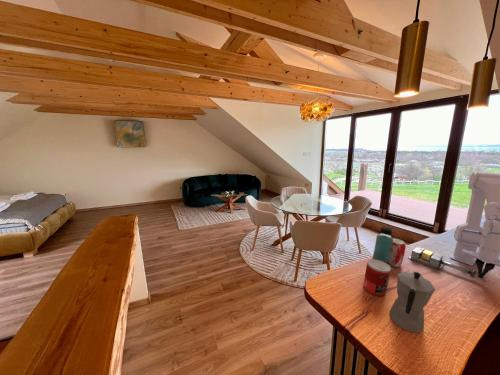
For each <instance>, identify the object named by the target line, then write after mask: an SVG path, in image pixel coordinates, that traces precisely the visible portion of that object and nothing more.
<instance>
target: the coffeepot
mask: <svg viewBox="0 0 500 375" xmlns="http://www.w3.org/2000/svg"><path fill="white" fill-rule="evenodd" d="M396 278H397V279H396V280H397V283H396V294H397V297H396V298H395V299H394V302H393V303H392V305H391V307H390V310H389V317H390V319H391V321H392V322H393V323H394V324H395V325H396V326H398V327H399V328H401V329H403V330H404V331H407V332H409V333H412V334H413V333H416V334H418V333H420V332H422V331H423V330H424V329H425V310H424V307H426V306H427V305H428V303H429V301H430V300H431V298H432V296H433V294H434V292H435V290H436V288H435V286H434V285H433V283H432V282H431V281H430V280H429V279H426V278H424V276H423V275H422V274H421V273H420V272H418V271H415V272H407V271H402V272H400V273H398V274H397V276H396Z"/></svg>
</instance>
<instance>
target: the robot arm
mask: <svg viewBox="0 0 500 375" xmlns="http://www.w3.org/2000/svg"><path fill="white" fill-rule="evenodd" d="M468 189H469V190H471V195H470V200H469V205H468V211H467V216H466V219H465V220H466V221H465V222H464V223H461V224H458V225H457V226H456V228H455V231H454V232H453V233H454V234H453V237H454V240H455V241H456V245H455V247H454V250H453V253H452V254H451V256H450V257H449V258H450V259H451V260H455V261H457V262H460V263H463V264H466V265H468V266H471V267H472V266H474V263H475V266H476V268H477V269H476V270H477V278H479V279H482V280H483V279H484V277H485V276H486V275H487V274H488V273H489V272H491V271H492V270H494V269H495V267H496V266H497V267H499V268H500V259H499V258H500V173H492V172H479V171H474V172H472V173H471V175H470V176H469V180H468ZM485 203H486V204H485ZM483 213H484V216H485V217H484V219H485V220H484V222H483V224H482V226H481V223H482V218H483Z"/></svg>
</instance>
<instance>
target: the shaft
mask: <svg viewBox="0 0 500 375" xmlns="http://www.w3.org/2000/svg"><path fill="white" fill-rule="evenodd" d="M439 263H441V264H443V266H446V267H449V268H452V269H454V270H457V271H460V272H462V273H465V274H467V275H469V276H470V277H471V278H475V276H476V274H477V270H475V269H472V270H470V269H466V268H463V267H461V266H458V265H457V264H456V265H455V264H453V263H450V262H448V261H445V260H443V259H442V260H440V262H439Z"/></svg>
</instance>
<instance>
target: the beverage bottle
mask: <svg viewBox="0 0 500 375" xmlns="http://www.w3.org/2000/svg"><path fill="white" fill-rule="evenodd" d="M392 233H393V230H392V229H391V227H388V226H387V227H386V226H382V227H381V228H380V233H379V234H377V235H376V237H375V238H376V239H375V243H374V244H375V245H374V250H373V254H372V259H376V260H380V261H383V262H385V263H386V264H389V263H388V262H389V259H390V258H389V257H390V252H391V250H392V242H393V239H392V238H393V237H392V236H391V235H392Z"/></svg>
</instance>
